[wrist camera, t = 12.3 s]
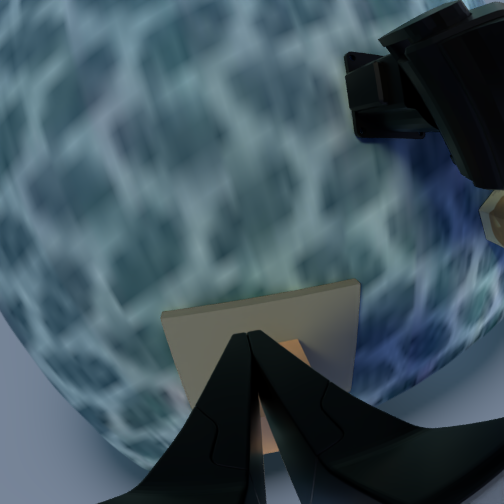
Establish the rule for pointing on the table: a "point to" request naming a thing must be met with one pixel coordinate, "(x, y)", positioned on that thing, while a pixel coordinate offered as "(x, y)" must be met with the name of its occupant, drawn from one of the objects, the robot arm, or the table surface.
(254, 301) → the rest mat
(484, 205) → the skincare box
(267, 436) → the terracotta block
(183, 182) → the table surface
